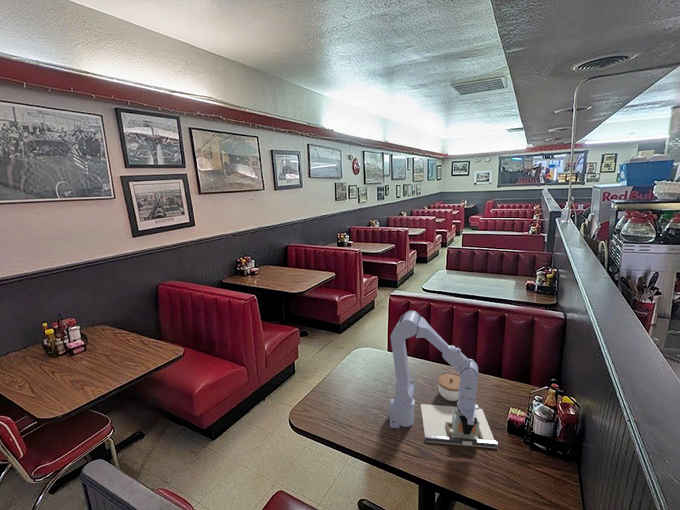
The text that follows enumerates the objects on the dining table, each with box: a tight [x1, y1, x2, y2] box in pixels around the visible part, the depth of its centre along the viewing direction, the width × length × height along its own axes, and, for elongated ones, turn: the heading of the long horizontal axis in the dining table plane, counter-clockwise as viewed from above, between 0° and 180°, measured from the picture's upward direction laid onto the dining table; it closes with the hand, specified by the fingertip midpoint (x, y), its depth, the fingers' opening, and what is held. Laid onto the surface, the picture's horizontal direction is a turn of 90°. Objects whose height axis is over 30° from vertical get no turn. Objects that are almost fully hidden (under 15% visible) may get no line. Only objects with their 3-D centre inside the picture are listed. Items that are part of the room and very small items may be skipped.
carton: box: [452, 411, 479, 437], centre depth 119 cm, size 5×8×6 cm, turn 83°
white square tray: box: [420, 403, 499, 449], centre depth 125 cm, size 24×20×2 cm
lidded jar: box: [437, 373, 461, 402], centre depth 141 cm, size 11×11×9 cm
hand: (464, 427), depth 119 cm, fingers closed on carton, 5 cm apart
